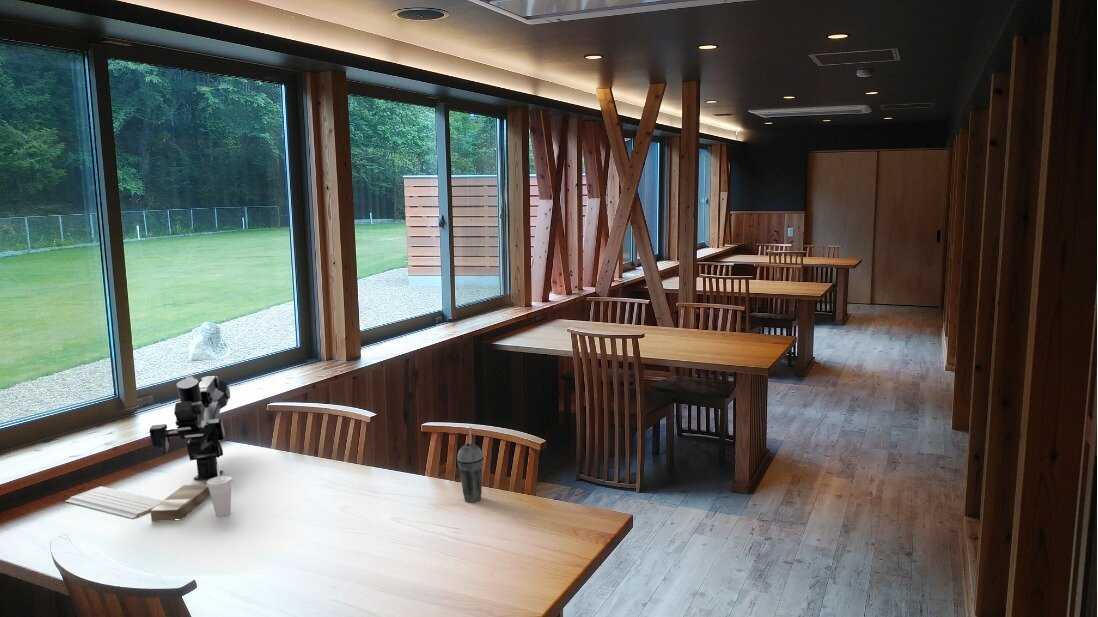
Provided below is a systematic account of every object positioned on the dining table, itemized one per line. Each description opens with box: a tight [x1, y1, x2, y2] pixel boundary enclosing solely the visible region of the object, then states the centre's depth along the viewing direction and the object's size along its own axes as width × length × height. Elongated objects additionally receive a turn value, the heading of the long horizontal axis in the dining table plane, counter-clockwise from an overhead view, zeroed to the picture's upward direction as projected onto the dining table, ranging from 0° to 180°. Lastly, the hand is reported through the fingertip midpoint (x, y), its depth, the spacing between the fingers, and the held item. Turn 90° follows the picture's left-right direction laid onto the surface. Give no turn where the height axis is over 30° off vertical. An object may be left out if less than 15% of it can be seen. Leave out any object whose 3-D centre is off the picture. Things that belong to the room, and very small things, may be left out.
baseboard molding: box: [60, 485, 164, 520], centre depth 220 cm, size 31×3×12 cm
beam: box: [149, 483, 211, 522], centre depth 215 cm, size 18×8×3 cm, turn 179°
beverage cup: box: [456, 426, 485, 504], centre depth 209 cm, size 7×7×20 cm
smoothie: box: [206, 464, 233, 518], centre depth 208 cm, size 6×6×14 cm
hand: (182, 450), depth 212 cm, fingers open, 9 cm apart
